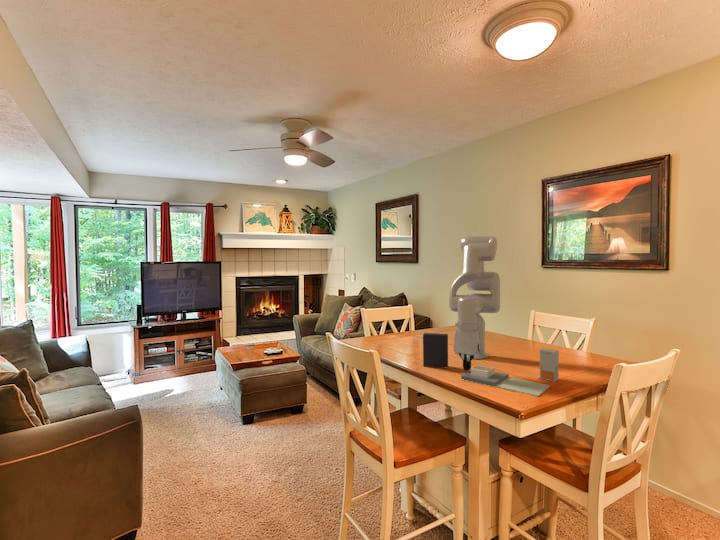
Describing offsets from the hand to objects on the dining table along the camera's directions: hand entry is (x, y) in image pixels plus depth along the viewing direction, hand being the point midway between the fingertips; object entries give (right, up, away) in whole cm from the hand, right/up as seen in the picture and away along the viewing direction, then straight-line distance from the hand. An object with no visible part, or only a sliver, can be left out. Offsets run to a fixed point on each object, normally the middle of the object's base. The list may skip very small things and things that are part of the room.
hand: (467, 369), depth 163 cm
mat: (+17, -3, -15) cm, 23 cm away
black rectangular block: (-11, -2, +14) cm, 18 cm away
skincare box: (+32, -2, -7) cm, 32 cm away
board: (+6, -2, -5) cm, 8 cm away
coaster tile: (+5, -1, -5) cm, 7 cm away
